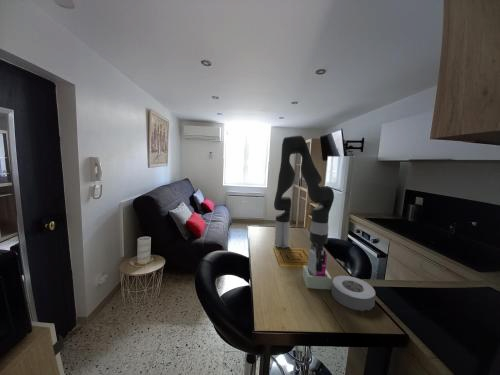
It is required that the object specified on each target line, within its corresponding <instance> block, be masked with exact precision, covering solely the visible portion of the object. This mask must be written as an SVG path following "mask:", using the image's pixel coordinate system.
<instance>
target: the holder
mask: <svg viewBox="0 0 500 375" xmlns="http://www.w3.org/2000/svg"><path fill="white" fill-rule="evenodd" d="M307 268H308V265H302V278H303V281H304V283H305V287H306V288H307V289H317V290H329V291H332V282H333V279H332V277H331V275H330V274H329V271H328V270H327V269H326V271H325V276H311V275H310V274H309V272H308V270H307Z"/></svg>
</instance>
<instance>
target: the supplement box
mask: <svg viewBox="0 0 500 375" xmlns="http://www.w3.org/2000/svg"><path fill="white" fill-rule="evenodd" d="M317 255H319V254H317ZM317 255H315V251H314V250H311V249H308V258H307V266H308V268H307V270H308V272H309V274H310V275H311V276H325V271H326V270H327V257H328V254H327V253H326V254H325V264H322V271H321V272H318V271H317V270H316V265H317V257H316V256H317ZM320 261H321V259H320Z"/></svg>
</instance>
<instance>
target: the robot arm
mask: <svg viewBox="0 0 500 375" xmlns="http://www.w3.org/2000/svg"><path fill="white" fill-rule="evenodd" d="M294 154H299V155H300V156H301V159H302V160H301V165H300V171H301V175H302V178H303V179H304V181H305V183H306V189H307V193H308V198H309V200H311V202H312V203H315V204H318V205H317V206H316V207H314V208H312V209H311V210H312V211H311V221H310V227H309V228H310V229H309V230H310V231H309V241H310V242H311V248H310V250H314V251H315V255H317V254H319V255H317V256H316V257H317V265H316V270H317V271H318V272H321V271H322V264H325V254H327V251H326V250H325V249H324V245H326V244H327V243H328V238H329V237H328V236H329V217H330V216H329V214H330V211H331V209H332V206H333V203H334V201H335V200H334V199H335V193H334V190H333V189H332V187H330V186H320V185H319V184H321V183H322V179H323V178H322V176H321V175H320V173H319V170H318V169H317V167H316V166H315V163H314V161H313V159H312V155H311V152H310V150H309V147H308V144H307V141H306V139H305V138H304V136H302V135H298V134H297V135H290V136H289V135H288V136H287V135H286V136H285V137H284V138H283V140H282V144H281V156H280V157H281V158H280V165H279V166H280V168H279V171H278V177H277V178H278V179H277V187H276V188H277V189H276V192H275V196H274V201H273V207H274V210H276V211H279V212H280V211H281V212H282V211H283V212H282V213H280V214H277V215H276V216H275V227H274V228H275V229H274V230H275V231H274V246H275V245H276V246H277V247H276V246H275V247H276V248H278V247H282V248H281V249H286V247H287V248H288V247H289V244H290V243H289V242H290V241H289V240H290V222H291V210H292V198H291V197H290V196H283V195H284V194H285V193H286V192H287V191H288V190H289V189H290V188H291V187H292V186H293V185H294V182H295V177H296V172H295V169H294V167H293V165H292V164H291V161H290V159H291V158H290V157H291V155H294ZM320 259H321V261H320Z"/></svg>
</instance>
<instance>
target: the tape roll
mask: <svg viewBox="0 0 500 375" xmlns="http://www.w3.org/2000/svg"><path fill="white" fill-rule="evenodd" d="M376 295H377V294H376V290H375V289H374V287H373V286H372V285H370V283H368V282H366V281H365V280H362V279H360V278H358V277H353V276H349V275H337V276H335V277H334V278H333V279H332V281H331V296H332V297H333V299H334V300H336V301H337V302H338V303H339V304H340V305H342V306H345V307H347V308H349V309H352V310H354V311H359V310H360V311H361V312H365V311H364V310H368V311H371V310H373V309H374V308H375V304H376ZM373 307H374V308H373ZM372 308H373V309H372ZM370 309H371V310H370Z"/></svg>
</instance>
